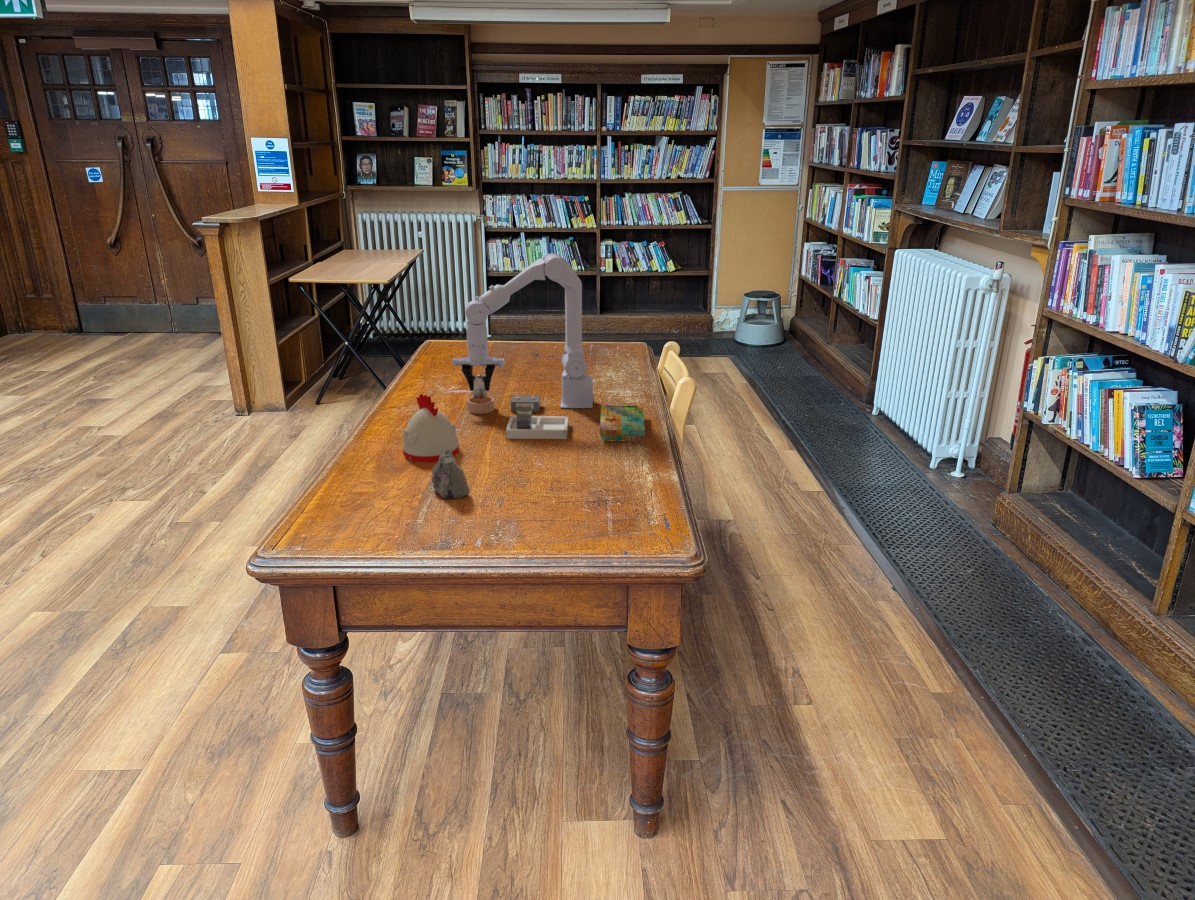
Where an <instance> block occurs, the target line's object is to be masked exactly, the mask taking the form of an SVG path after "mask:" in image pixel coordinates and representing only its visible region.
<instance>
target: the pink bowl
mask: <svg viewBox="0 0 1195 900" xmlns="http://www.w3.org/2000/svg"><path fill="white" fill-rule="evenodd" d="M495 407H496V406H495V398H494V397H493V396H490V395H487V397H485V398H474V397H473V396H471V397H468V398H467V399H466V409H467V412H469V414H470V413H471V414H476V415H481V414H483V415H484V414H490V413H492V412H494V411H495Z"/></svg>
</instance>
